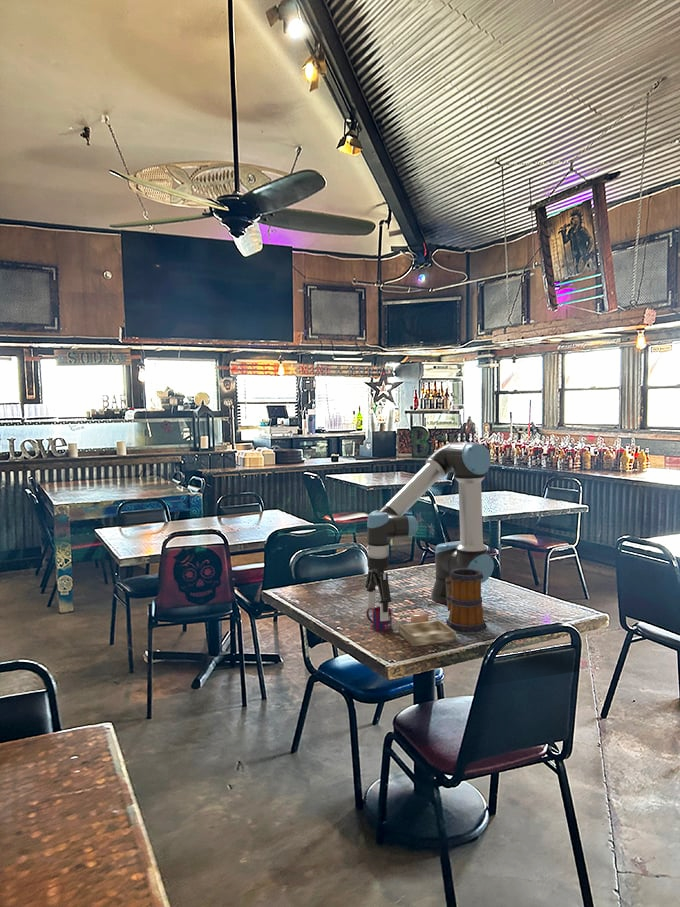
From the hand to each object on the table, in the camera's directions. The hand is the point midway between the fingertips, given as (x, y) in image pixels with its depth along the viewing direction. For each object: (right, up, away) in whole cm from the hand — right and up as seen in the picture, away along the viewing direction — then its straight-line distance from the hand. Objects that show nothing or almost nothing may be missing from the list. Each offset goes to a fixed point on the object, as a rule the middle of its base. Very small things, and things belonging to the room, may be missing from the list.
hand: (377, 614), depth 227 cm
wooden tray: (+16, -5, -10) cm, 20 cm away
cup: (0, -5, +1) cm, 5 cm away
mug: (+31, -4, +1) cm, 31 cm away
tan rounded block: (+15, -4, +3) cm, 16 cm away
